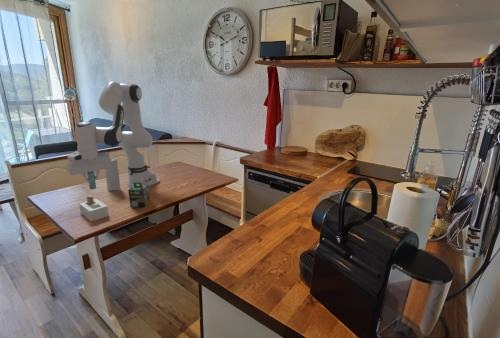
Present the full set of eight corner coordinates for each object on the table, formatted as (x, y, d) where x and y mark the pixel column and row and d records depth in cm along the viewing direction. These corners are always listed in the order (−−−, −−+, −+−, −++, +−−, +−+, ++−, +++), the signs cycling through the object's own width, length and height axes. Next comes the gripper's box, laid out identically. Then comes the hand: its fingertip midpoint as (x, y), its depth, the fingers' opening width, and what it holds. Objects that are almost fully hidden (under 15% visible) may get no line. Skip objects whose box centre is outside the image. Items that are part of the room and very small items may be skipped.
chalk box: (150, 201, 168) (148, 179, 164) (145, 207, 160) (143, 184, 155) (135, 201, 168) (133, 179, 163) (129, 207, 159) (127, 184, 155)
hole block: (97, 208, 157) (96, 198, 155) (108, 215, 148) (107, 205, 147) (80, 213, 150) (79, 203, 148) (91, 221, 142) (89, 211, 140)
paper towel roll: (105, 189, 183) (101, 160, 177) (113, 187, 188) (110, 158, 182) (112, 192, 180) (108, 161, 174) (120, 189, 185) (117, 159, 179)
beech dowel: (93, 211, 153) (91, 195, 150) (96, 212, 151) (93, 196, 148) (88, 212, 151) (85, 196, 148) (90, 214, 149) (87, 198, 146)
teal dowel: (94, 187, 144) (92, 169, 142) (97, 188, 142) (94, 170, 140) (88, 188, 142) (85, 170, 139) (91, 189, 140) (88, 171, 138)
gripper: (106, 150, 146) (109, 173, 150) (63, 155, 131) (67, 182, 135) (111, 151, 143) (114, 176, 147) (68, 158, 127) (72, 185, 131)
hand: (91, 179), depth 141 cm, fingers closed on teal dowel, 3 cm apart
